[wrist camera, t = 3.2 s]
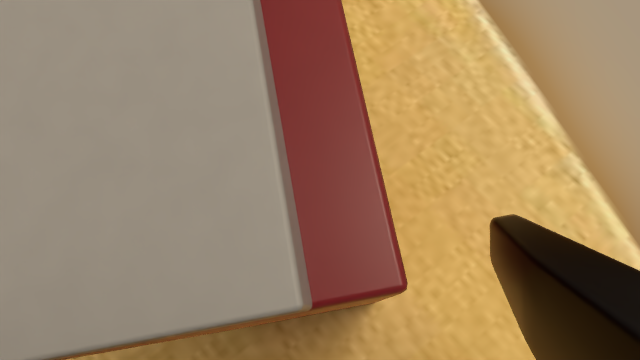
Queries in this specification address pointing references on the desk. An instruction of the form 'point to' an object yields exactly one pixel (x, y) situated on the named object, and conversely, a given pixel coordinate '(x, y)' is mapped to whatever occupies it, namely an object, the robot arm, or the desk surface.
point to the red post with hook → (182, 172)
